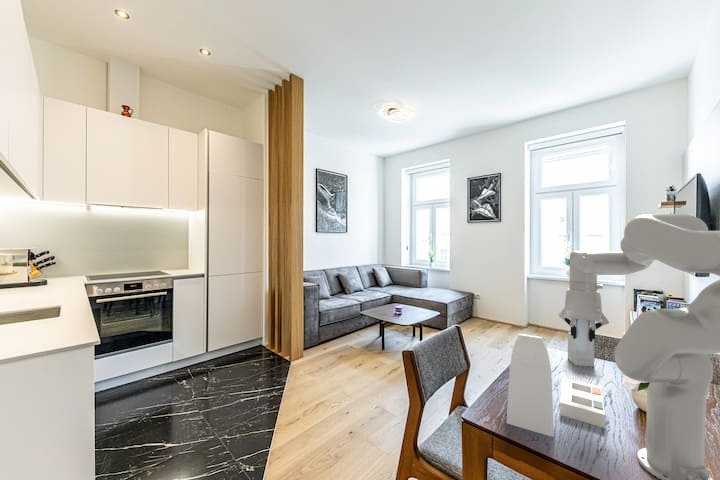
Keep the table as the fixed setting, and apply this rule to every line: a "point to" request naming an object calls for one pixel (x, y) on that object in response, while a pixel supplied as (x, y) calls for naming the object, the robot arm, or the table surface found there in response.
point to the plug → (582, 335)
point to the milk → (530, 386)
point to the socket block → (582, 402)
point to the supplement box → (580, 353)
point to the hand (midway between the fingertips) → (582, 338)
